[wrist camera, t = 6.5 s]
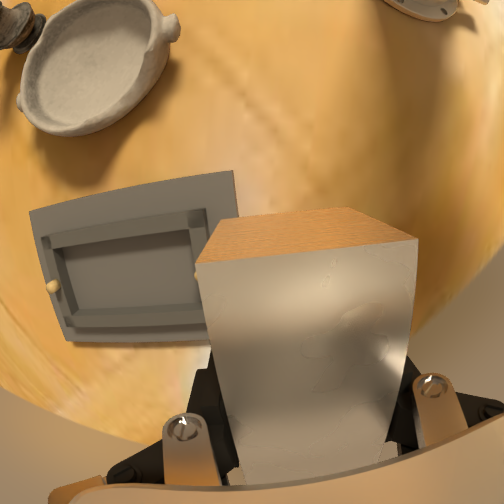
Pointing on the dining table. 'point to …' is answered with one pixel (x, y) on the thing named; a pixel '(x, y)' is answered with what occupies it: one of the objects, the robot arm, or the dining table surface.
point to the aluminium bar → (308, 336)
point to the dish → (94, 64)
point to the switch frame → (132, 258)
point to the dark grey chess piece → (20, 27)
